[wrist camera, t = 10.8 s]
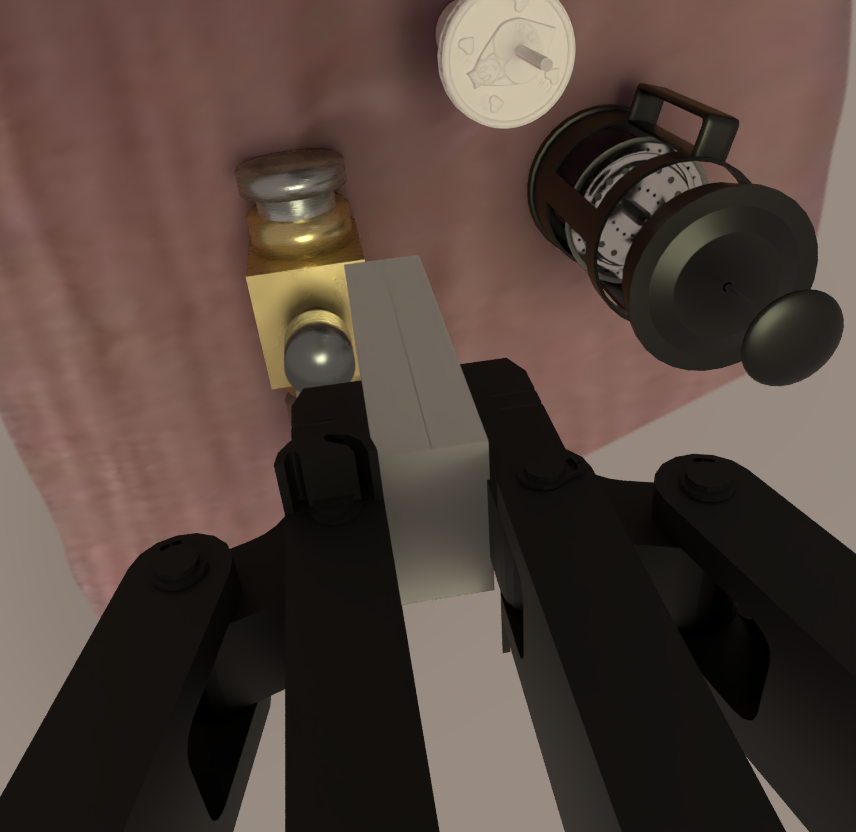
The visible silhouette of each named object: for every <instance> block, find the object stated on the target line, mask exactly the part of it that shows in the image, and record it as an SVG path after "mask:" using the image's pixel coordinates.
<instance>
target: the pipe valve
mask: <svg viewBox="0 0 856 832" xmlns="http://www.w3.org/2000/svg"><path fill="white" fill-rule="evenodd" d="M234 172H235V177H236V182H237V186H238V191H239V195H240V197H242V198H243V199H245V200H248V201H252V202H256V206H254V207H253V208H251V209H250V210H249V211H248V212H247V214H246V218H247V223H248V227H249V232H250V238H249V248H248V259H247V269H246V280H247V285H248V289H249V293H250V298H251V302H252V306H253V311H254V315H255V319H256V323H257V328H258V332H259V336H260V341H261V345H262V349H263V354H264V358H265V362H266V367H267V371H268V375H269V380H270V384H271V388H272V389H278V388H285V390H286V391H287V392H288V394H287V396H286V406H287V411H288V415H289V419H290V422H291V406H292V404H293V403H294V401H295V400H296V389H295V388H294V387H292V385H291V384H290V383H289V381H288V380H287V377H286V375H285V370H284V335H285V332H286V329H287V327H288V325H289V324H290V323H291V322H292V320H293V319H295V318H296V317H297V316H299V315H301V314H303V313H305V312H308V311H314V310H322V311H327V312H330V313H333V314H335V315H336V316H338V317H339V318H341V319H342V320H343V321H344V322H345V324H346V325H347V327H348V329H349V331H350V335H351V340H352V346H353V352H354V358H355V373H354V376H353V378H352V380H351V382H353V381H360V374H359V367H358V360H357V353H356V346H355V339H354V332H353V325H352V318H351V311H350V303H349V296H348V289H347V282H346V275H345V268H344V264H352V263H360V262H365V259H364V255H363V251H362V247H361V243H360V240H359V236H358V232H357V228H356V224H355V220H354V218H350V211H349V204H348V200H347V199H346V198H345V197H344V196H342V195H339V194H335V193H334V190H336V189H338V188H339V187H341V186H342V185H343V184H344V183H345V182H346V172H345V166H344V159H343V155H342V154H341V153H339V152H336V151H333V150H326V149H300V150H290V151H283V152H278V153H273V154H268V155H264V156H261V157H257V158H254V159H251V160H249V161H246V162H244V163H242V164H241V165H239V166H238V167H237V168H236V169H235V171H234Z"/></svg>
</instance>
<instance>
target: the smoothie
mask: <svg viewBox="0 0 856 832" xmlns="http://www.w3.org/2000/svg"><path fill="white" fill-rule="evenodd" d="M436 43H437V46H438V55H437V58H438V67H439V76H440V78H441V81H442V84H443V87H444V89H445V92H446V94H447V95H448V97H449V98H450V100H451V101H452V102H453V104H454V105H455V107H456V108H457V109H459V110H460V111H461V112H462V113H464V114H465V115H466V116H467V117H468V118H470V119H472V120H474V121H476V122H478V123H480V124H482V125H485V126H489V127H493V128H515V127H519V126H522V125H525V124H528V123H530V122H532V121H534V120H536V119H538V118H539V117H541V116H542V115H543V114H545V113H546V112H547V111H548V110H549V109H550V108H551V107H552V106H553V105H554V104H555V103H556V102H557V101H558V99H559V98H560V96H561V95H562V93H563V92H564V90H565V88H566V86H567V84H568V82H569V79H570V77H571V73H572V70H573V66H574V60H575V37H574V32H573V28H572V24H571V21H570V19H569V17H568V14H567V12H566V11H565V9H564V7H563V6H562V5H561V3H560V2H559V1H558V0H454V1H452V2H451V3H450V4H448V5H447V6H446V7H445V9H444V10H443V11H442V13H441V15H440V17H439V19H438V22H437V25H436Z"/></svg>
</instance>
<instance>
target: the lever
mask: <svg viewBox="0 0 856 832" xmlns="http://www.w3.org/2000/svg"><path fill="white" fill-rule="evenodd" d="M284 370H285V375H286V377H287V380H288V381H289V383H290V384H291V385H292V387H294V388H295V389H296V399H297V397H298V396H299V394H300V393H301V391H302V390H303V388H310V387H317V386H324V385H331V384H338V383H345V382H351V380H352V378H353V376H354V373H355V358H354V352H353V346H352V340H351V335H350V331H349V329H348V327H347V325H346V324H345V322H344V321H343V320H342V319H341V318H339V317H338V316H336V315H335V314H333V313H330V312H327V311H322V310H314V311H308V312H305V313H303V314H301V315H299V316H297V317H296V318H295V319H293V320H292V322H291V323H290V324H289V325H288V327H287V329H286V332H285V335H284Z"/></svg>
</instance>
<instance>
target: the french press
mask: <svg viewBox="0 0 856 832" xmlns="http://www.w3.org/2000/svg"><path fill="white" fill-rule="evenodd" d="M664 101H667V102H669V103H671V104H673V105H675V106H677V107H680V108H682V109H684V110H686V111H688V112H690V113H693V114H695V115H697V116H699V117H701V118H702V119H703V123H702V127H701V129H700V132H699V135H698V137H697V140H696V143H695V146H694V145H693V144H691V143H689V142H687V141H685V140H683V139H681V138H679V137H678V136H676V135H674V134H672V133H670V132H668V131H666V130H664V129H663V128H661V127H659V126H657V124H656V122H657V119H658V116H659V113H660V110H661V108H662V105H663V102H664ZM738 127H739V120H738V119H736V118H735V117H733V116H731V115H728V114H726V113H723V112H721V111H719V110H716V109H714V108H712V107H709V106H707V105H705V104H702V103H700V102H698V101H695V100H693V99H691V98H688V97H686V96H684V95H681V94H679V93H676V92H674V91H672V90H669V89H667V88H663V87H658V86H654V85H649V84H644V83H642V84H639V85H638V86H637V88H636V91H635V94H634V98H633V101H632V104H631V107H630V108H629V107H626V106H619V105H603V106H595V107H592V108H589V109H586V110H583V111H580V112H579V113H577V114H575V115H573V116H571V117H570V118H568V119H566V120H565V121H564V122H563V123H561V124H560V125H559V126H558V127H557V128H555V129H554V130H553V132H552V133H551V134H550V135H549V136H548V137H547V139H546V140H545V141H544V142H543V144H542V146H541V147H540V149H539V151H538V153H537V154H536V156H535V159H534V162H533V165H532V167H531V170H530V175H529V181H528V203H529V207H530V212H531V215H532V217H533V220H534V222H535V224H536V226H537V227H538V229H539V230H540V231H541V233H542V234H543V235H544V237H545V238H546V239H547V240H549V241H550V242H551V243H552V244H553V245H554V246H556V247H558V248H559V249H560V250H561V251H562V252H563V253H564V254H566V255H567V256H568V257H569V258H570V259H572V260H574V261H576V262H577V263H579V264H580V266H581V267H582V268H584V269H585V270H586V271H587V272H588V275H589V277H590V279H591V282H592V284H593V286H594V288H595V289H596V291H597V292H598V293H599V295H600V296H601V297H602V299H603V300H604V301H605V302H606V303H607V305H608V306H609V307H610V308H611V309H612V310H613V311H615V312H616V313H617V314H618V315H619V316H621V317H622V318H624V319H626V320H628V321H630V323H631V326H632V328H633V331H634V333H635V335H636V337H637V338H638V339H639V341H640V342H641V344H642V345H643V346H644V348H645V349H646V350H647V351H648V352H649V353H651V354H652V355H653V356H654V357H656V358H657V359H658V360H660V361H662V362H664V363H666V364H668V365H670V366H672V367H676V368H680V369H685V370H698V371H706V370H712V369H718V368H723V367H726V366H729V365H732V364H735V363H738V362H741V361H742V363H743V366H744V369H745V370H746V372H747V373H748V375H749V376H750V377H751V378H753V379H754V380H755V381H757V382H759V383H761V384H765V385H769V386H784V385H790V384H793V383H796V382H799V381H801V380H803V379H805V378H807V377H809V376H811V375H812V374H813V373H815V372H816V371H818V370H819V369H820V368H821V367H822V366H823V365H824V364H825V363H826V362H827V361H828V360H829V359H830V357H831V356H832V355H833V353H834V352H835V350H836V348H837V347H838V345H839V342H840V340H841V337H842V332H843V328H844V324H843V323H844V322H843V321H844V319H843V314H842V310H841V308H840V306H839V305H838V303H837V302H836V300H835V299H834V298H833V297H831V296H829V295H828V294H826V293H825V292H821V291H818V290H811V287H812V284H813V281H814V278H815V273H816V268H817V263H818V244H817V239H816V235H815V231H814V227H813V225H812V223H811V221H810V219H809V217H808V215H807V213H806V212H805V211H804V210H803V209H802V208H801V207H800V206H799V204H798V203H797V202H796V201H795V200H793V199H792V198H790V197H788V196H787V195H785V194H784V193H782V192H780V191H779V190H776V189H773V188H770V187H767V186H763V185H758V184H752V183H751V182H750V181H749V180H748V179H747V178H746V177H745V176H744V174H743V173H742V172H741V171H739V170H738V169H736V168H734V167H733V166H731V165H730V164H728V163H726V162H725V161H726V158H727V156H728V153H729V151H730V148H731V145H732V143H733V140H734V138H735V135H736V133H737V130H738ZM603 129H621V130H624V131H627V132H630V133H632V134H633V135H635V136H637V137H638V138H634V139H631V140H627V141H625V142H622V143H619V144H617V145H615V146H613V147H611V148H610V149H608V150H606V151H604V152H603V153H602V154H600V155H599V156H598V157H597V158H596V159H594V160H593V161H592V162H591V163H590V164H589V165H588V166H587V167H586V168H585V169H584V171H583V172H582V173H581V174H580V176H579V177H578V179H577V180H576V182H575V184H574V185H573V186H572V185H571V184H569V183H568V182H567V181H566V180H565V179H564V178H563V177H562V176H561V175H559V174H558V173H557V170H558V169H559V167H560V165H561V164H562V162H563V160H564V159H565V157H566V156H567V155H568V154H569V153H570V152H571V151H572V149H573V148H574V147H575V146H576V145H578V144H579V143H580V142H581V141H582V140H584V139H585V138H586V137H587V136H589V135H591V134H593V133H595V132H596V131H598V130H603ZM699 161H702V162H712V163H715V164H718V165H721V166H723V167H725V168H726V169H727V170H728V171H729V172H730V173H731V174H732V175H733V176H734V177H735V178H736V180H737V182H738V184H737V183H724V182H719V183H711V184H708V183H707V180H706V176H705V173H704V170H703V168H702V166H701V165H700V163H699ZM552 208H553V209H554V210H555V211H556V212H557V213H558V214H559V215H560V216H561V217H562V218H563V219H564V220H565V227H563V226H562V225H561V224H560V222H559V221H558V220H557V218H556V217H555V214H554V212H553V210H552ZM603 289H604V290H605V291H606V292H607V293H608V295H609V296H610V297H611V298H612V299H613V300H614V301H615V302H616V304H617V305H618V306H617V305H615V304H614V303H612V302H611V301H610V300H609V299H608V298H607V296H606V295H605V293H604V291H603Z"/></svg>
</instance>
